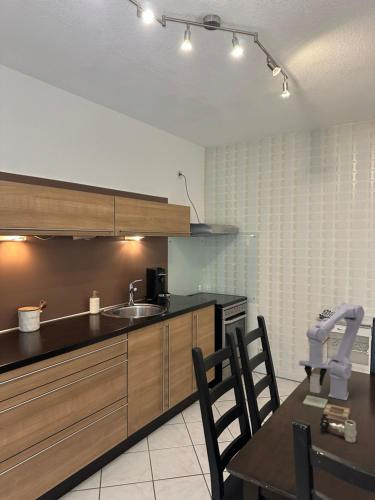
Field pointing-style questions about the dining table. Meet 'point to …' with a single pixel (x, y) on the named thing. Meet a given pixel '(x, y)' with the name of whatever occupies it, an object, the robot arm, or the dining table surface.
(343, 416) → the socket block
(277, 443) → the dining table surface
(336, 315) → the robot arm
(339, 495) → the dining table surface
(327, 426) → the valve
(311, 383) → the steel peg
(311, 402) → the sage pad
